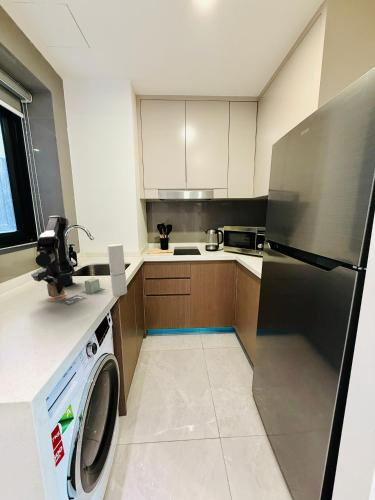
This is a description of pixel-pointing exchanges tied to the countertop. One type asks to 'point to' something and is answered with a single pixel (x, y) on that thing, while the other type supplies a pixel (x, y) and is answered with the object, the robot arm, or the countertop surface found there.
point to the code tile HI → (92, 293)
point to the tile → (72, 300)
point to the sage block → (92, 285)
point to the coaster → (57, 298)
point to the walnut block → (54, 290)
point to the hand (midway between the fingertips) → (56, 292)
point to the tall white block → (117, 269)
